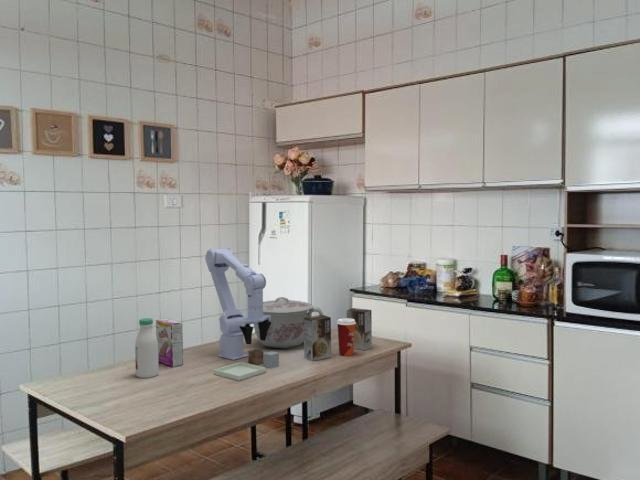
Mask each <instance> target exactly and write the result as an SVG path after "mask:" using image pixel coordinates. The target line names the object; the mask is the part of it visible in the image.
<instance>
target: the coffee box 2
mask: <svg viewBox="0 0 640 480" xmlns="http://www.w3.org/2000/svg"><path fill="white" fill-rule="evenodd" d="M346 318H351V319H354V320H355V322H356V324H355V335H354V350H360V351H367V350H369V349H372V348H373V345H372V344H373V342H372V341H373V339H372V337H373V336H372V331H373V329H372V325H373V324H372V323H373V321H372V309H366V308H355V307H352V308H350V309H346Z"/></svg>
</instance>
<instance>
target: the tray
mask: <svg viewBox="0 0 640 480" xmlns="http://www.w3.org/2000/svg"><path fill="white" fill-rule="evenodd" d="M266 372H267V367H264V366H260V365H257V366H256V365H252V364H248V362H244V361H239V362H235V363H231V364H229V365H225V366H221V367H219V368H214V369H213V375H215V376H218V377H223V378H227V379H230V380H234V381H237V382H241V381H244V380H247V379H251V378H253V377H257V376H259V375H262V374H266Z"/></svg>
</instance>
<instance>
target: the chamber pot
mask: <svg viewBox="0 0 640 480" xmlns="http://www.w3.org/2000/svg"><path fill="white" fill-rule="evenodd" d="M312 313H318V314H319V315H324V313H323V311H322V309H321V308H320V307H318V306H315V307H314V305H313V304H311V303H309V302H305V301H300V300H291V299H290V300H289V299H288V298H287V297H283V296H278V297H277V298H275V299H274V300H267V301H263V315H271V320H270V322H271V325H270V327H269V329H268V332H267V336H266V340H265V341H263V340H260V331H259V326H258V323H254V324H253V327H254V328H253V331H254V333H255V335H256V337H257V339H258V340H259V342H260V343H261V344H262V345H264V346H265V347H269V348H272V349H290V348H295V347H296V346H299V345H301V344H302V343H304V317H310V316H312Z"/></svg>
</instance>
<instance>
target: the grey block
mask: <svg viewBox="0 0 640 480" xmlns="http://www.w3.org/2000/svg"><path fill="white" fill-rule="evenodd" d="M263 359H264V364H263V367H265V368H266V369H267V368H269V369H275V368H277V367H279V366H280V353H279V352H276V351H272V350H271V351H268V352H263Z"/></svg>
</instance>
